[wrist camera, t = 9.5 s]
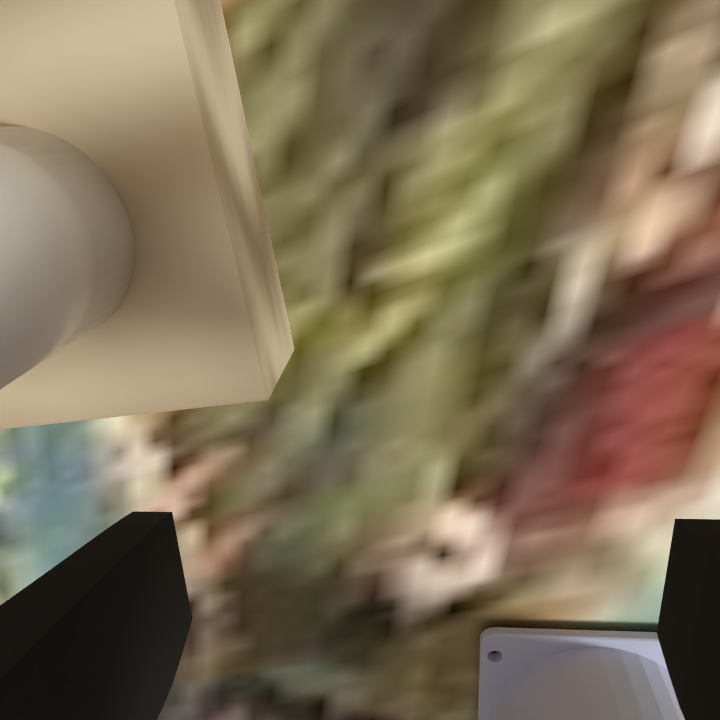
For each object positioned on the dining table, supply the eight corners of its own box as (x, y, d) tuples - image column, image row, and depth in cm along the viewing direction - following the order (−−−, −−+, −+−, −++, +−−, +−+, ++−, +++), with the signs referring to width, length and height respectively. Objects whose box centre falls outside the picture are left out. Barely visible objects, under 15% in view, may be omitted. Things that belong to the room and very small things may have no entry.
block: (296, 344, 20) (268, 400, 16) (7, 379, 21) (-79, 437, 18) (221, -18, 16) (161, -53, 13) (-121, 53, 18) (-263, 41, 14)
